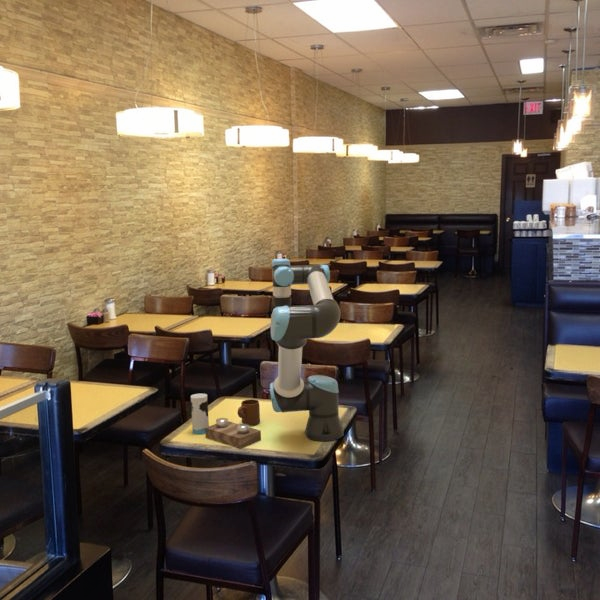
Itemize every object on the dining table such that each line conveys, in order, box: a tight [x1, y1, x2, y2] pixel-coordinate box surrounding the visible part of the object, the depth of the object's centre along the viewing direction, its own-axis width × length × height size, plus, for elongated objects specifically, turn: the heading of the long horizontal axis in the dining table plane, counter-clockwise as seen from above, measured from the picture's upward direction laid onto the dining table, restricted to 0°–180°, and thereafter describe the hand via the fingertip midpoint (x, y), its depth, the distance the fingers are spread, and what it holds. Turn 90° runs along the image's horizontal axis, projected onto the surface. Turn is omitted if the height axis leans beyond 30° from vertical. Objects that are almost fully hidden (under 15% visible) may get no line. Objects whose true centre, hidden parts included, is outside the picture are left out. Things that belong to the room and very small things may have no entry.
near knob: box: [237, 423, 250, 434], centre depth 258 cm, size 5×5×6 cm
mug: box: [237, 399, 261, 427], centre depth 278 cm, size 12×8×9 cm, turn 147°
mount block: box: [205, 420, 262, 450], centre depth 263 cm, size 20×11×4 cm, turn 49°
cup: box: [190, 393, 210, 435], centre depth 271 cm, size 7×7×15 cm
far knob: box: [215, 417, 229, 428], centre depth 266 cm, size 5×5×6 cm
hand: (283, 351), depth 280 cm, fingers closed
